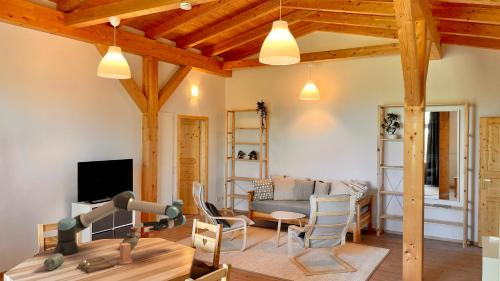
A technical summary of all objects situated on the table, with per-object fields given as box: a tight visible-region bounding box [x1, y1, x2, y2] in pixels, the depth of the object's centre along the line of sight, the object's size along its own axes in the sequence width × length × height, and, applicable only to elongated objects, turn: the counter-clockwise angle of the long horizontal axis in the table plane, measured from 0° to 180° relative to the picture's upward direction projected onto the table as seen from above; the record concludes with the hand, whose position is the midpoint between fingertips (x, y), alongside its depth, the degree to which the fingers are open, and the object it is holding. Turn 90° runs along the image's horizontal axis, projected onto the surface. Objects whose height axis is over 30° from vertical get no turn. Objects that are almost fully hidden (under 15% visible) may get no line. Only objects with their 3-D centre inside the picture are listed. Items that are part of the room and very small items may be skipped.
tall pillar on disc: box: [117, 242, 133, 266], centre depth 240 cm, size 9×9×12 cm
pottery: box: [122, 226, 142, 250], centre depth 277 cm, size 11×25×12 cm, turn 8°
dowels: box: [81, 260, 90, 269], centre depth 227 cm, size 8×2×3 cm, turn 45°
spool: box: [43, 253, 65, 271], centre depth 228 cm, size 14×10×10 cm
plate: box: [78, 258, 115, 274], centre depth 231 cm, size 16×16×2 cm
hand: (139, 228), depth 246 cm, fingers open, 13 cm apart
